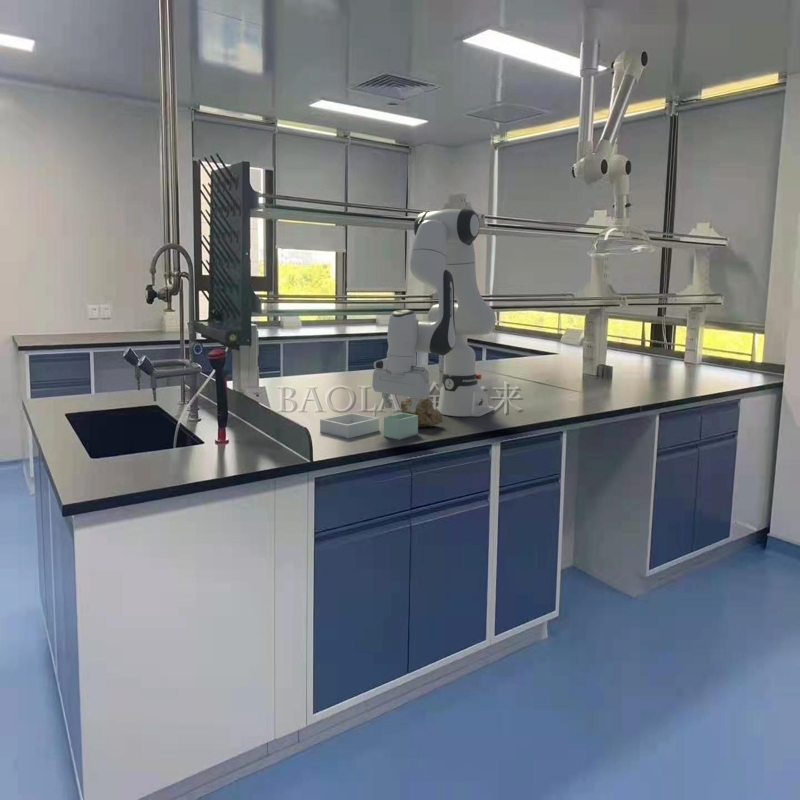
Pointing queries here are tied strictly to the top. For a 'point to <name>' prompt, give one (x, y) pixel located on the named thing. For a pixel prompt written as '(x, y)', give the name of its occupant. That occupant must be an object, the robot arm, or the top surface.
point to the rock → (423, 412)
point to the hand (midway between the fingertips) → (399, 409)
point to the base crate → (349, 425)
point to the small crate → (400, 426)
